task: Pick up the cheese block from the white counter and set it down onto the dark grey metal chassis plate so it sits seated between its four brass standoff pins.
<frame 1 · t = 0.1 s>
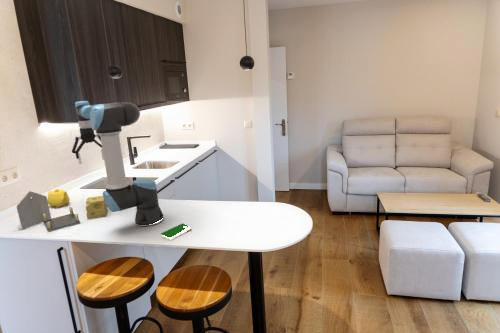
hand: (92, 161, 210), 28 cm above the counter, fingers open, 13 cm apart
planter: (33, 223, 193), on the counter
cheese: (98, 214, 200), on the counter
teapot: (60, 205, 219), on the counter
chassis: (61, 223, 191), on the counter
dish sponge: (176, 234, 171), on the counter
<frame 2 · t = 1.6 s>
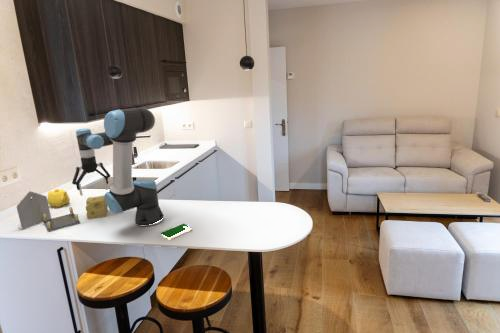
hand: (94, 192, 197), 14 cm above the counter, fingers open, 13 cm apart
nothing on the counter moved.
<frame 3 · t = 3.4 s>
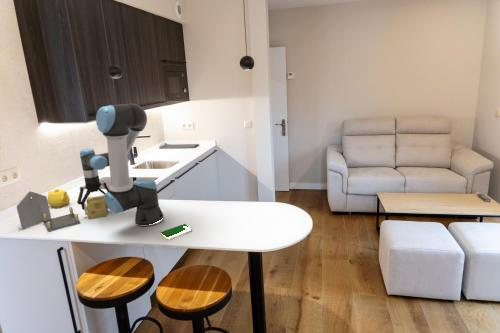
hand: (97, 211, 200), 2 cm above the counter, fingers closed on cheese, 12 cm apart
cheese: (98, 214, 200), on the counter, touching gripper
everything else where it was.
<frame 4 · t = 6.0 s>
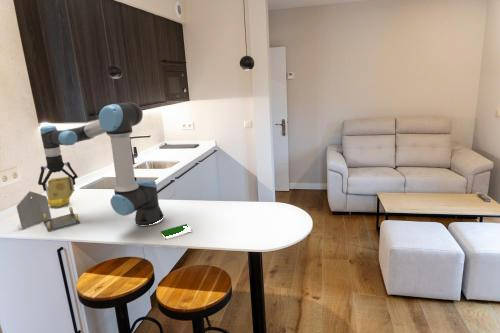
hand: (61, 193, 188), 17 cm above the counter, fingers closed on cheese, 12 cm apart
cheese: (62, 196, 189), point 15 cm above the counter, touching gripper
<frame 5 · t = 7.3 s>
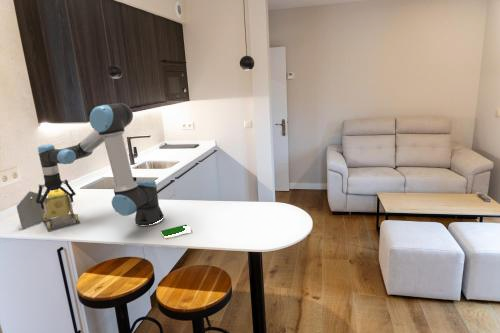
hand: (59, 210, 189), 7 cm above the counter, fingers closed on cheese, 12 cm apart
cheese: (60, 214, 189), point 5 cm above the counter, touching gripper
when the fingers open (4 cm above the counter, at t = 8.5 s): cheese drops 1 cm, resting on chassis.
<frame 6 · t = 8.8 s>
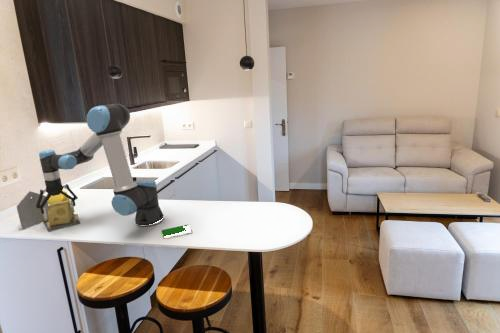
hand: (60, 215, 189), 5 cm above the counter, fingers open, 13 cm apart
cheese: (62, 221, 190), point 1 cm above the counter, touching chassis
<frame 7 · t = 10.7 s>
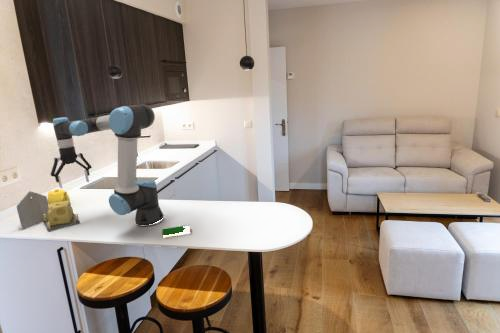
hand: (74, 184, 187), 21 cm above the counter, fingers open, 13 cm apart
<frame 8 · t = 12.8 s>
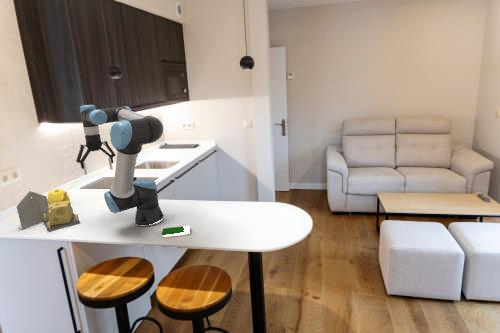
hand: (98, 171, 190), 27 cm above the counter, fingers open, 13 cm apart
at the end: cheese 0.4 cm off-centre on the chassis, point 1.0 cm above the chassis's base; cheese tilted 0°; the gripper is holding nothing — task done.
